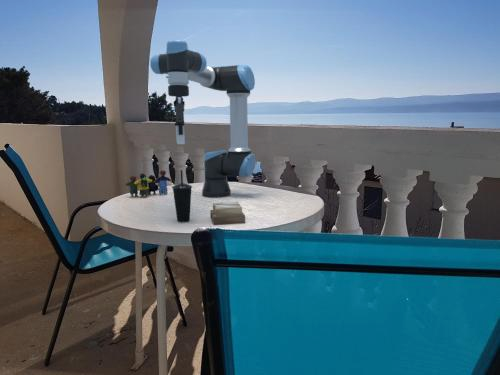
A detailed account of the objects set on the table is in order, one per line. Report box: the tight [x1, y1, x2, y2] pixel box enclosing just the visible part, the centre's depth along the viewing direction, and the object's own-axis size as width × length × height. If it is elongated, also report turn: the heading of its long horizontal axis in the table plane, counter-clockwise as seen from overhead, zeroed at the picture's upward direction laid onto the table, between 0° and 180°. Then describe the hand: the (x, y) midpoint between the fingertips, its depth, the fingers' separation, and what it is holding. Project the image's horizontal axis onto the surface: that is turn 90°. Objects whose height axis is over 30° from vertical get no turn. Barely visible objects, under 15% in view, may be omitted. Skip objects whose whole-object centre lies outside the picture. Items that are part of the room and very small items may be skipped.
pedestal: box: [209, 201, 246, 226], centre depth 146 cm, size 12×12×6 cm
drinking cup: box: [171, 169, 193, 223], centre depth 144 cm, size 8×8×20 cm
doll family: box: [125, 169, 173, 199], centre depth 192 cm, size 23×9×13 cm, turn 132°
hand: (180, 143), depth 140 cm, fingers open, 13 cm apart
